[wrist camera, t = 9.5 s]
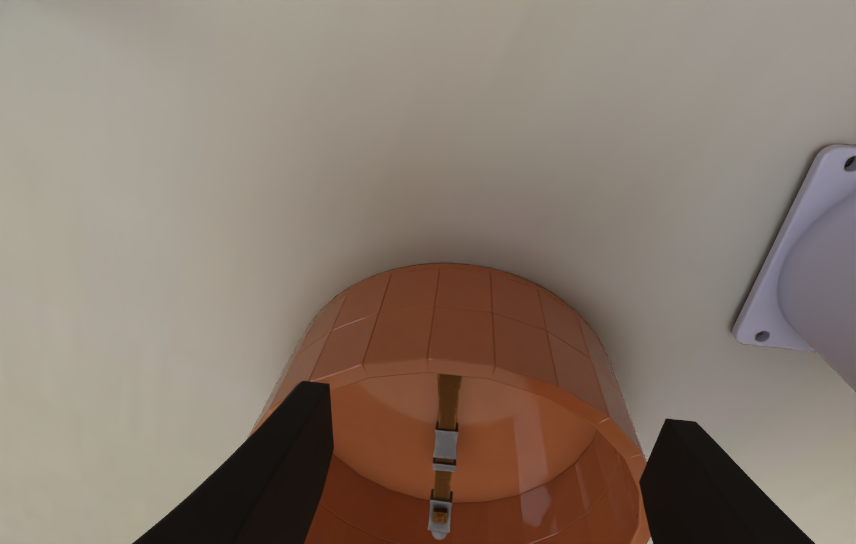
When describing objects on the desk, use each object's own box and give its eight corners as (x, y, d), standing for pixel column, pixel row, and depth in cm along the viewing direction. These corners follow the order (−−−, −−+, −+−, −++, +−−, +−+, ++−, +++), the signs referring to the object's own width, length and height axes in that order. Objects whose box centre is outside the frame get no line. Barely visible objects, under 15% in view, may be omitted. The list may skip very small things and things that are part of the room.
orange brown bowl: (657, 283, 19) (727, 390, 13) (572, 515, 26) (596, 642, 21) (280, 244, 19) (208, 333, 14) (304, 482, 27) (263, 597, 22)
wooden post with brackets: (424, 488, 24) (415, 549, 19) (433, 333, 23) (427, 359, 19) (460, 491, 24) (460, 553, 19) (470, 336, 23) (473, 363, 18)
